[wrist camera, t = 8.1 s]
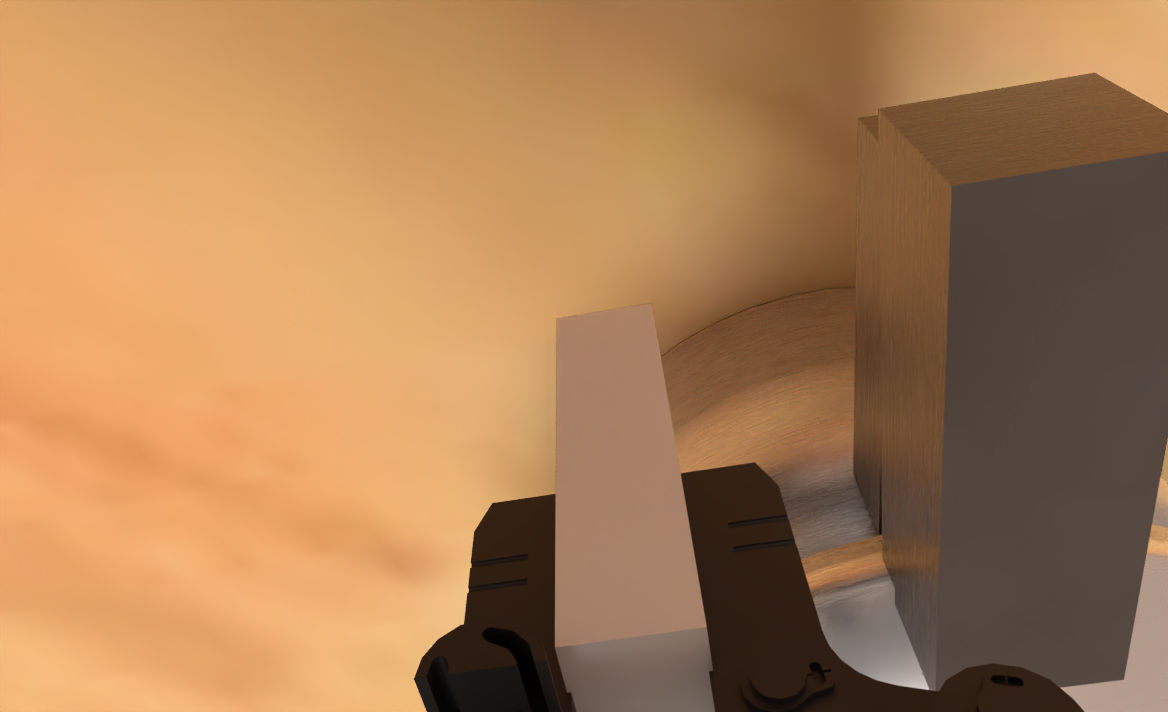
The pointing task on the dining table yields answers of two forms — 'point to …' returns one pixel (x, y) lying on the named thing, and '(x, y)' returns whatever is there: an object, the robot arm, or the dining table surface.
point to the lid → (1017, 398)
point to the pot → (801, 392)
